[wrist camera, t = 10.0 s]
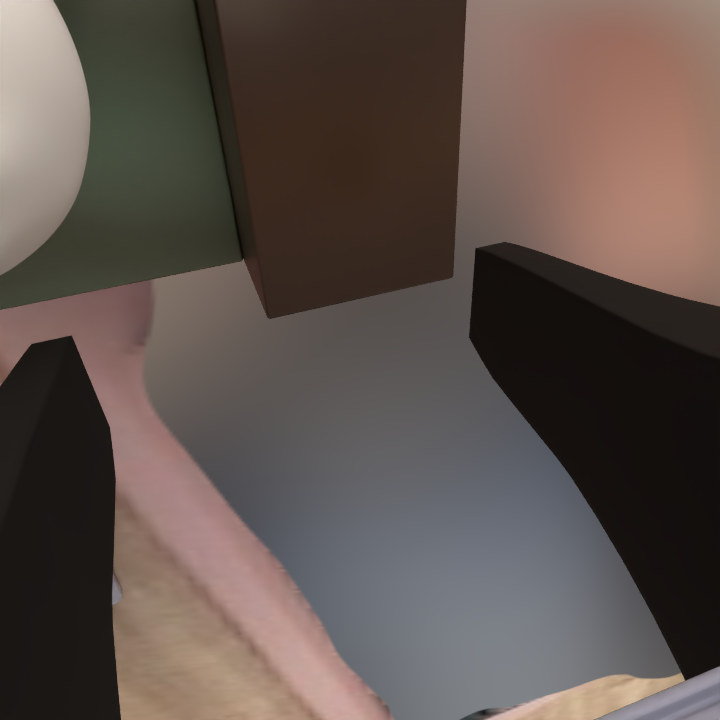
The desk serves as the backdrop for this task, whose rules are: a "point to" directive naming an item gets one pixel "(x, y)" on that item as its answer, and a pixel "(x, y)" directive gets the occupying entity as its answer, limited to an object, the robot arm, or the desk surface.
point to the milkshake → (38, 125)
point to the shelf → (262, 148)
